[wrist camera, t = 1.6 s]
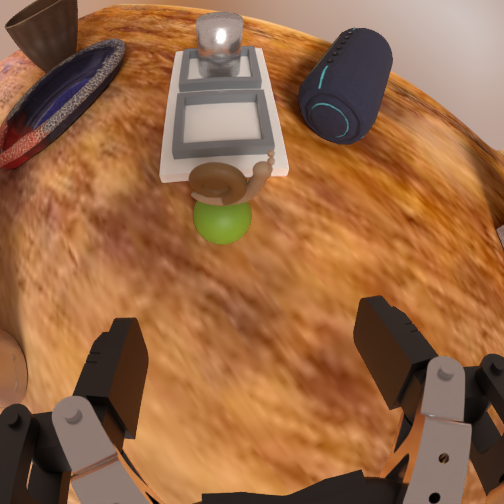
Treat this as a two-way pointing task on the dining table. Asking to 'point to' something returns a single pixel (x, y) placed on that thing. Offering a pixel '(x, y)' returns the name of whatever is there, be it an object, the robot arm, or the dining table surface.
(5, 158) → the dish
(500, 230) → the coffee box
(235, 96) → the compartment tray
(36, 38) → the plant pot
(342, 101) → the portable speaker
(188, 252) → the dining table surface
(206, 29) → the silver metal cylinder
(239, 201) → the snail figurine
